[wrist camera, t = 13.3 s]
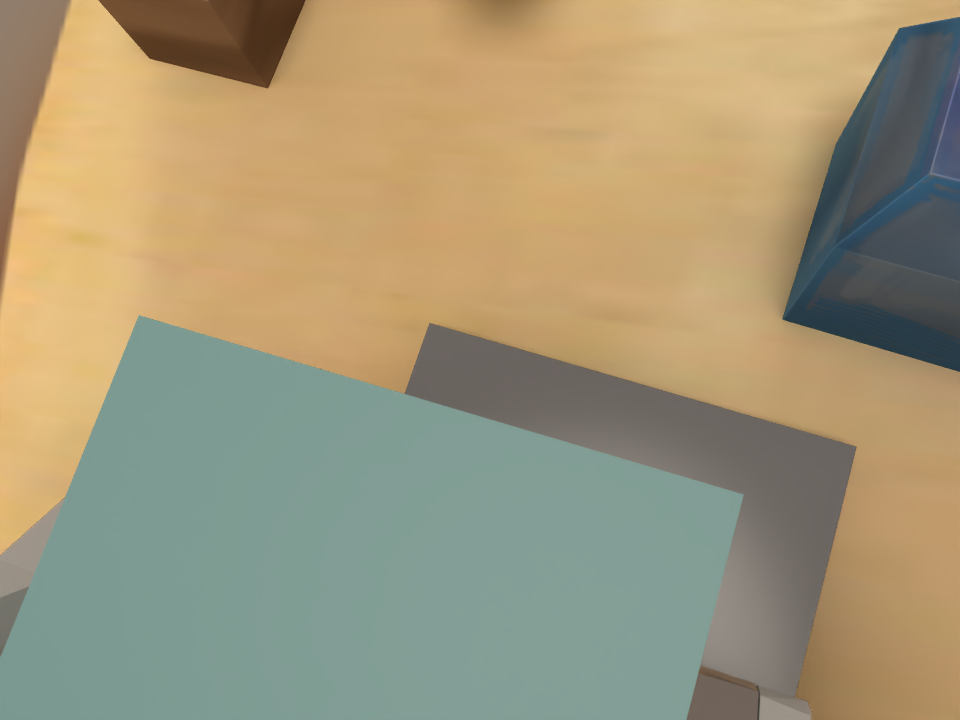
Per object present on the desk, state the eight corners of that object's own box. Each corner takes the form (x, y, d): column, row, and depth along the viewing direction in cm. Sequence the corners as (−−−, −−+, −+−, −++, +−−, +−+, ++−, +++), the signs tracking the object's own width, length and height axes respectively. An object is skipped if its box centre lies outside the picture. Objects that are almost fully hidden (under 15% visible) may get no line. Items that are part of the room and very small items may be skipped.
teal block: (573, 857, 13) (543, 1282, 5) (275, 741, 14) (-122, 957, 6) (661, 534, 14) (744, 493, 6) (376, 445, 15) (138, 315, 7)
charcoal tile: (730, 913, 23) (737, 931, 22) (295, 736, 26) (281, 744, 25) (845, 452, 26) (856, 446, 24) (436, 333, 28) (429, 322, 27)
